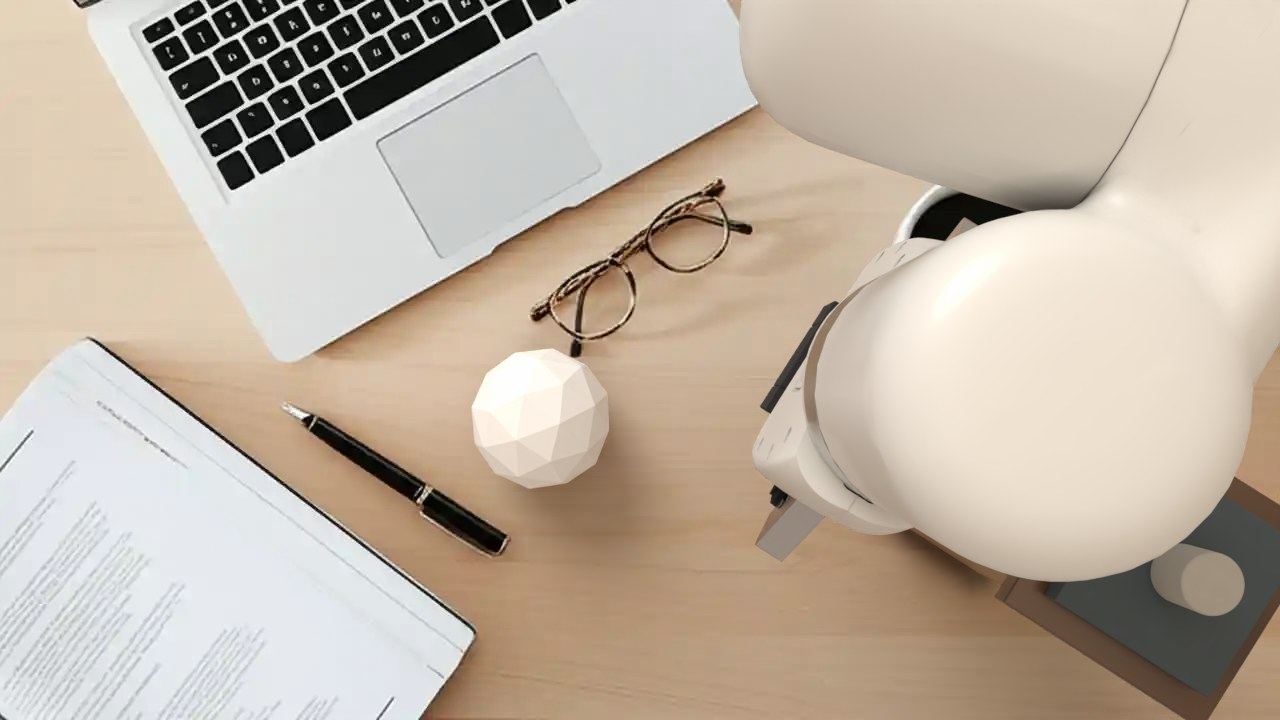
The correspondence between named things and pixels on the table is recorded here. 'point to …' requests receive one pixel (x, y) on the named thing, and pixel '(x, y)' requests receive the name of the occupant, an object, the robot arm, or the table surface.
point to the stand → (1114, 655)
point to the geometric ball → (540, 418)
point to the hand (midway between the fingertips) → (844, 388)
